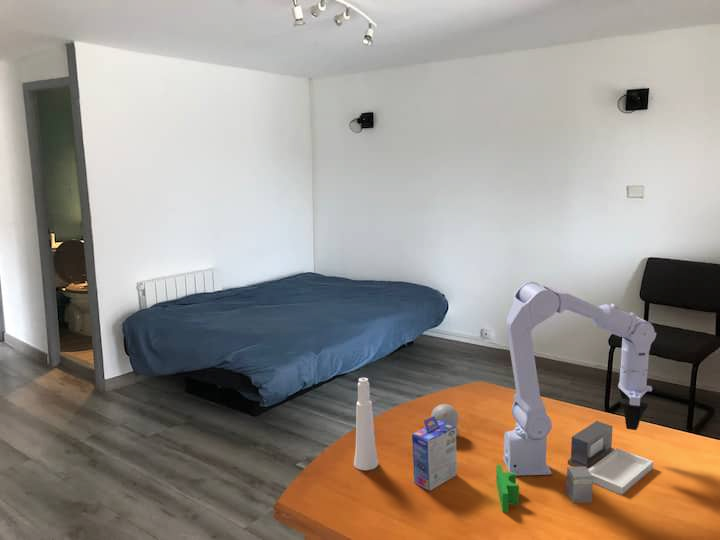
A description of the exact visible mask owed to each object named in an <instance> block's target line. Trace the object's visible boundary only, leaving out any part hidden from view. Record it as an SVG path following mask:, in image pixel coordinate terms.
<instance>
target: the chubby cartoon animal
mask: <svg viewBox="0 0 720 540" xmlns="http://www.w3.org/2000/svg"><path fill="white" fill-rule="evenodd" d="M433 416H435V418H436V420H437V421H439V420H440V421H443V422H446V423H448V424H450V425H453V426H455V427H456V437H458V436H459V433H460V432H459V428H458V427H457V426H458V423H459V414H458V411H457V410H456V409H455V408H454V407H453V406H452V405H451V404H446V403H443V404H438V405H437V406H435V407H434V408H433V410H432V411H431V415H430V418H431V417H433ZM433 423H435V422H434V421H431V424H433Z"/></svg>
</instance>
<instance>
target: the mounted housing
mask: <svg viewBox="0 0 720 540" xmlns="http://www.w3.org/2000/svg"><path fill="white" fill-rule="evenodd" d="M613 427H614V426H613V425H610V424H607V423H605V422H601V421H598V420H596V421H595V422H593V423H591V424H590V425H588V426H586V427H585V428H584V429H582V430H580V431H579V432H576V433H575V434H574V435H572V436H571V447H570V448H571V449H570V458H569V459H568V460H567V465H568V466H569V465H570V466H571V467H585V466H586V467H587V469H589V468H591V467H592V466H593V465H595V464H596V463H597V462H599V461H600V460H601V459H603V458H604V457H606V456H607V455H608V454H610V453H611V452H612V451H614V450H615V448H613V447H612V441H613Z"/></svg>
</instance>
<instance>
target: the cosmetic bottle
mask: <svg viewBox="0 0 720 540" xmlns="http://www.w3.org/2000/svg"><path fill="white" fill-rule="evenodd" d="M370 394H371V393H370V382H369V379H368V378H367V377H360V378H358V383H357V402H356V408H355V409H356V413H355V414H356V416H355V418H356V419H355V420H356V421H355V423H356V425H355V426H356V427H355V428H356V429H355V451H354V452H355V453H354V459H353V460H354V461H353V466H354V467H355V468H356V469H358V470H359V471H371V470H375V469H376V468H377V467H379V458H378V455H377V446H376V439H375V437H376V436H375V426H374V413H373V405H372V404H373V403H372V401H371V400H370V399H371V395H370Z"/></svg>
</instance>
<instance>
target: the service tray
mask: <svg viewBox="0 0 720 540" xmlns="http://www.w3.org/2000/svg"><path fill="white" fill-rule="evenodd" d="M653 469H654V461H653V460H651V459H648V458H646V457H643V456H640V455H637V454H634V453H631V452H628V451H626V450H624V449H621V448H618V447H617V448H614V451H612V452H611V453H610V454H608V455H607V456H606V457H604V458H603V459H601V460H600V461H599V462H597V463H596V464H595V465H593V466H592V467H591V468H589V469H588V470H589V472H590V473H591V474H592V476H593V484H594V485H597V486H599V487H602V488H604V489H607V490H609V491H611V492H613V493H616V494H619V495H621V496H623V495H624V494H626V492H627V491H629V490H630V489H631V488H632V487H633V486H634V485H636V484H637V483H638V482H639V481H640V480H641V479H642V478H644V477H645V476H646V475H647V474H648V473H650V472H651V471H652V470H653Z"/></svg>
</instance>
